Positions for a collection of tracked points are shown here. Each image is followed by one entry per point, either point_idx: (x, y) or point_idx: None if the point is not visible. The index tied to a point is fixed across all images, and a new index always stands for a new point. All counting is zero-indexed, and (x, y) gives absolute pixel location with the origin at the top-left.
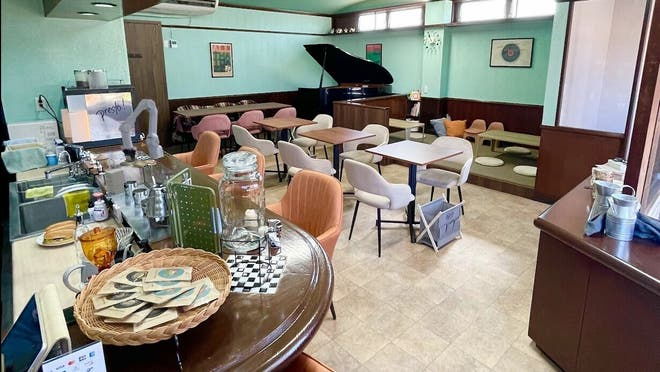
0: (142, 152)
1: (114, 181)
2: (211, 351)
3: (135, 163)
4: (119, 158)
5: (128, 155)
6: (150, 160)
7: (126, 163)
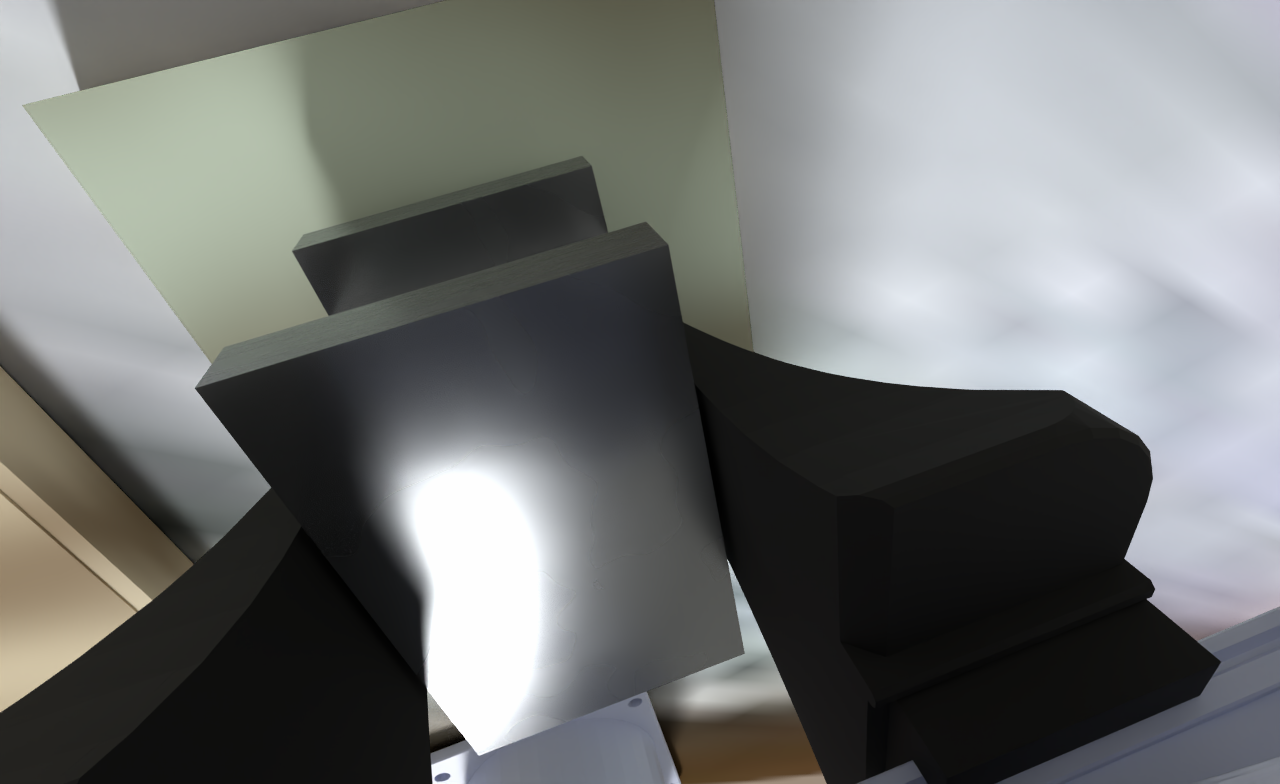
0: None
1: None
2: None
3: None
4: (1276, 321)
5: (232, 424)
6: None
7: (274, 72)
